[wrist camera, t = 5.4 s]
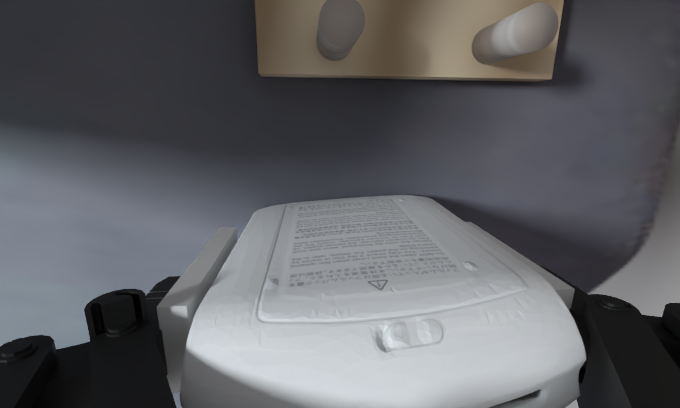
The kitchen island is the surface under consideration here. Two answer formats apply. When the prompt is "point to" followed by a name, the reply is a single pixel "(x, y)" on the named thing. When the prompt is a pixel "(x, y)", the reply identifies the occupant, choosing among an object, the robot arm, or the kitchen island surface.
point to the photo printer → (377, 315)
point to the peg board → (408, 39)
